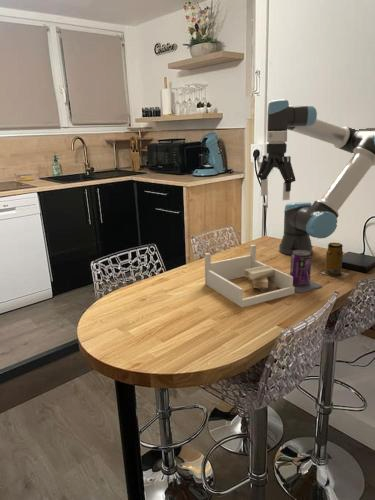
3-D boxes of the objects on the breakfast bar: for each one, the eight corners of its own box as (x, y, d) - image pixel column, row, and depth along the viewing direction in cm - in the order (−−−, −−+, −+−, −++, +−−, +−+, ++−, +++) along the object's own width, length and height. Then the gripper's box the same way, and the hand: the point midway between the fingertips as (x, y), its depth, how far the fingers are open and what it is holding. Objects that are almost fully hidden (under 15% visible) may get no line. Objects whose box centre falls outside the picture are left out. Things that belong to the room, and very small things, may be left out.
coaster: (300, 277, 147) (300, 276, 147) (321, 287, 138) (322, 285, 138) (277, 283, 143) (277, 281, 143) (298, 293, 133) (298, 291, 133)
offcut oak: (265, 276, 145) (265, 270, 144) (267, 288, 134) (268, 281, 134) (251, 276, 145) (251, 270, 145) (253, 287, 135) (253, 281, 134)
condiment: (330, 269, 156) (332, 240, 153) (349, 274, 150) (352, 244, 146) (319, 273, 152) (322, 244, 148) (339, 279, 145) (342, 248, 142)
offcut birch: (274, 275, 140) (274, 269, 139) (252, 280, 135) (252, 273, 134) (265, 271, 144) (266, 265, 143) (244, 275, 139) (244, 269, 138)
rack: (252, 273, 154) (253, 244, 150) (294, 293, 133) (296, 261, 130) (205, 283, 144) (204, 253, 141) (241, 307, 124) (242, 272, 120)
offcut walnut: (261, 280, 148) (261, 274, 147) (275, 292, 136) (276, 286, 136) (249, 282, 146) (249, 276, 146) (263, 294, 135) (263, 287, 135)
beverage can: (305, 288, 136) (307, 256, 132) (286, 284, 140) (288, 253, 136) (312, 282, 141) (315, 251, 137) (294, 278, 145) (296, 248, 142)
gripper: (249, 143, 157) (248, 194, 163) (291, 143, 136) (288, 202, 142) (264, 142, 161) (262, 193, 167) (307, 142, 139) (303, 200, 145)
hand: (274, 197), depth 154 cm, fingers open, 13 cm apart
